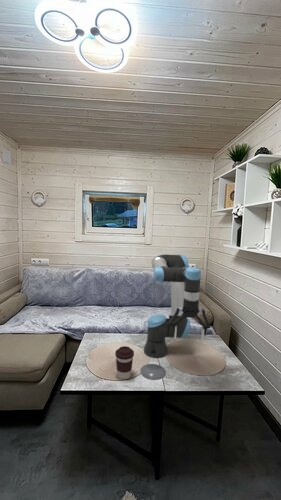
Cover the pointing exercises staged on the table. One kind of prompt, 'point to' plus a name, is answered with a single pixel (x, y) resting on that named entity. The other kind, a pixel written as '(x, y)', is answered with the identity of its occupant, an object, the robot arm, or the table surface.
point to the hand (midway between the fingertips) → (188, 339)
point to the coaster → (153, 371)
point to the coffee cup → (124, 362)
